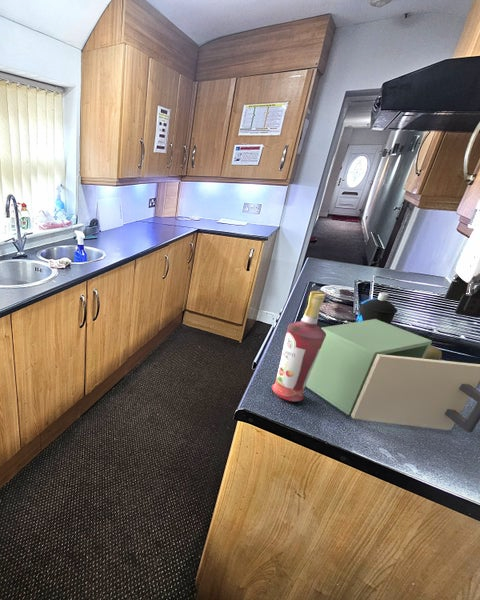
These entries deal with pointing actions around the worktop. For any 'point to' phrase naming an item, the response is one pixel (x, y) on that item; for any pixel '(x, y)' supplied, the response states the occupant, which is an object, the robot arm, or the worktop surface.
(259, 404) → the worktop surface
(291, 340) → the liquor
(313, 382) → the cupboard
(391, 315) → the aerosol can
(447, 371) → the door
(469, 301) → the robot arm
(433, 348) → the cork
